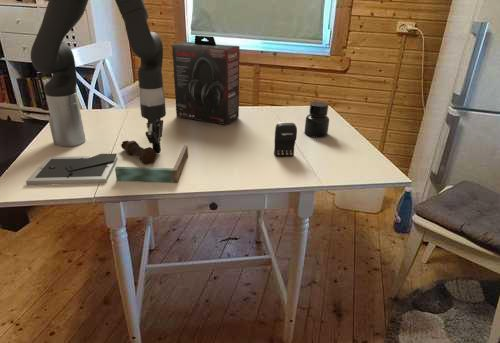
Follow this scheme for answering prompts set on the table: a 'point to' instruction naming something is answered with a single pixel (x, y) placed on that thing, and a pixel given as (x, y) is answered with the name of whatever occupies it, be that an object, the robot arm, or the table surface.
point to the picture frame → (74, 170)
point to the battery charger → (285, 139)
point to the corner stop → (154, 171)
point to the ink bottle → (317, 120)
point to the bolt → (139, 152)
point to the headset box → (206, 80)
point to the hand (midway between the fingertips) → (157, 152)
